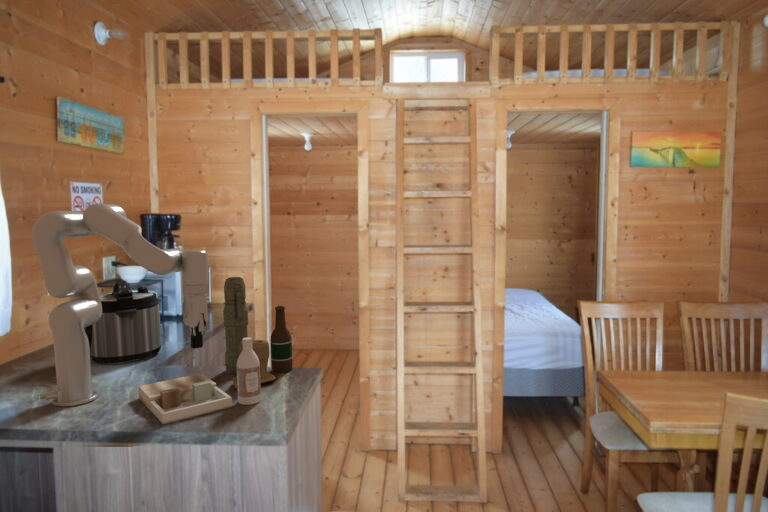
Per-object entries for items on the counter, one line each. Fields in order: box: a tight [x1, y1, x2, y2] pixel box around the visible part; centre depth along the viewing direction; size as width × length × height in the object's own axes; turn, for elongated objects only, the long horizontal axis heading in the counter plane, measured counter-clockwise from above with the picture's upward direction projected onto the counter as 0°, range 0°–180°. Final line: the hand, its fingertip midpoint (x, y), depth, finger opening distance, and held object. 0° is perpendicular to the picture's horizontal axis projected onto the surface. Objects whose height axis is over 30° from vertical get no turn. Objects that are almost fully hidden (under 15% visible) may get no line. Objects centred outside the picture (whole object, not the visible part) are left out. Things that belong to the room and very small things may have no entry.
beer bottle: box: [270, 305, 293, 374], centre depth 191 cm, size 8×8×24 cm
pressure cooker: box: [84, 280, 162, 365], centre depth 213 cm, size 30×28×32 cm
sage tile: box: [192, 381, 211, 402], centre depth 161 cm, size 5×5×2 cm
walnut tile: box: [160, 388, 181, 410], centre depth 155 cm, size 5×5×2 cm
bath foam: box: [236, 336, 262, 406], centre depth 159 cm, size 7×7×20 cm
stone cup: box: [232, 339, 277, 389], centre depth 177 cm, size 15×12×15 cm
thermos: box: [222, 276, 249, 375], centre depth 191 cm, size 9×12×35 cm
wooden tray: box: [137, 373, 217, 412], centre depth 165 cm, size 20×14×4 cm
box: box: [150, 386, 233, 425], centre depth 154 cm, size 20×13×3 cm, turn 128°
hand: (196, 347), depth 161 cm, fingers closed
